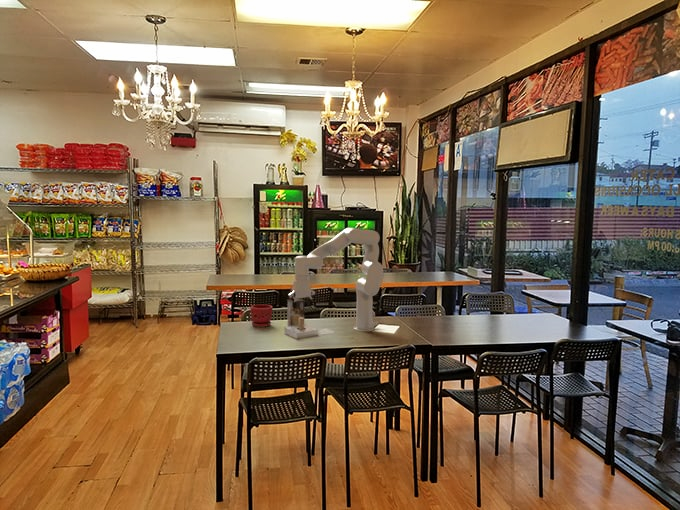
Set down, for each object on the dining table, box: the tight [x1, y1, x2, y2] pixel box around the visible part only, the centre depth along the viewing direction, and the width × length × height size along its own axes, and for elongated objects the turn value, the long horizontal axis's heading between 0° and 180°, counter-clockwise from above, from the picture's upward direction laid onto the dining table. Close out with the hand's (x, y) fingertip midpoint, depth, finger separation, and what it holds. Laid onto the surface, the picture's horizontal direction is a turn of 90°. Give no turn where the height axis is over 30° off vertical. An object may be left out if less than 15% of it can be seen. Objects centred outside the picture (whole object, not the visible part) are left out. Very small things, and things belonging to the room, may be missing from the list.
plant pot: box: [250, 304, 273, 328], centre depth 286 cm, size 13×13×12 cm
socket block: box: [283, 323, 319, 340], centre depth 268 cm, size 14×14×4 cm
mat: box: [318, 327, 336, 336], centre depth 274 cm, size 10×10×1 cm
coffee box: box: [287, 298, 305, 327], centre depth 286 cm, size 9×6×16 cm
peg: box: [299, 317, 305, 330], centre depth 268 cm, size 3×3×10 cm
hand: (302, 307), depth 267 cm, fingers open, 9 cm apart
